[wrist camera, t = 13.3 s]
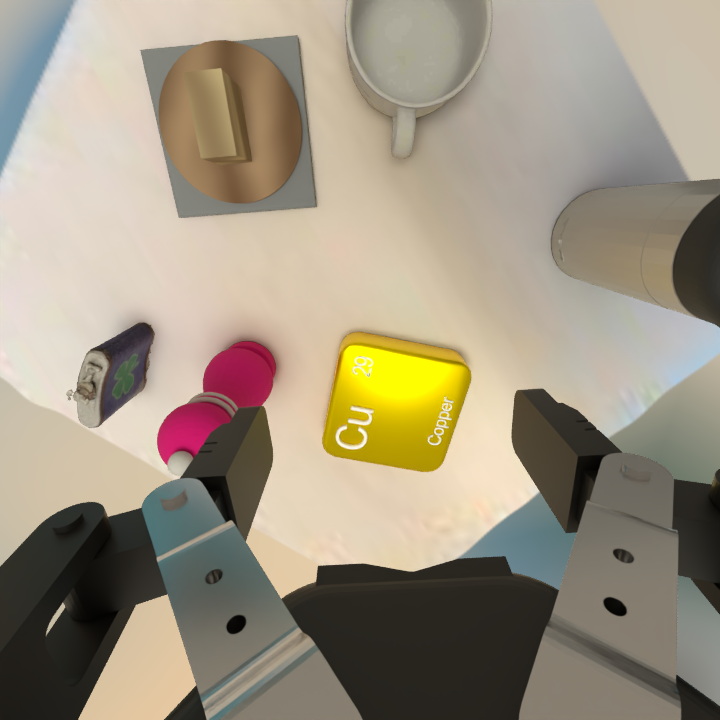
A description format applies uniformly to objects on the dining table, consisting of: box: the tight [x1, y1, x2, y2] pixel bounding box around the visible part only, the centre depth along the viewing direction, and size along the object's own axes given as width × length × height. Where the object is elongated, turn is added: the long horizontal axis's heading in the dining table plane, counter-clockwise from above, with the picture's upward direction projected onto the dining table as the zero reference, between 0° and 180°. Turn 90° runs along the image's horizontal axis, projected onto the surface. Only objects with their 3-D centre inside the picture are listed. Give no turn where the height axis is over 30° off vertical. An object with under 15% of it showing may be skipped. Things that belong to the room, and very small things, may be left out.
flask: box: [66, 323, 155, 428], centre depth 41 cm, size 9×3×11 cm, turn 160°
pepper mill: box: [157, 341, 276, 476], centre depth 37 cm, size 7×7×20 cm
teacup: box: [345, 0, 492, 159], centre depth 32 cm, size 14×11×8 cm
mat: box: [140, 36, 317, 218], centre depth 37 cm, size 14×14×1 cm
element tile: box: [322, 332, 471, 472], centre depth 46 cm, size 15×15×5 cm
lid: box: [159, 40, 302, 203], centre depth 34 cm, size 13×13×6 cm
